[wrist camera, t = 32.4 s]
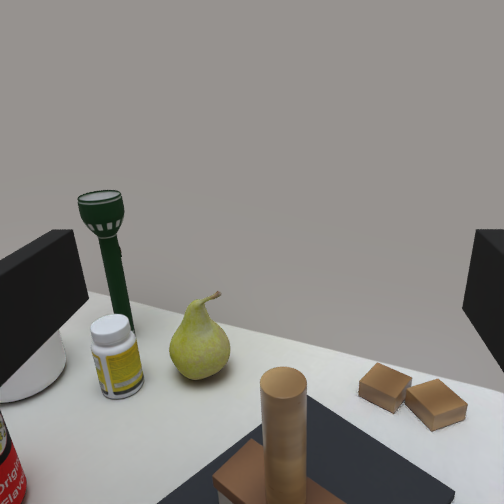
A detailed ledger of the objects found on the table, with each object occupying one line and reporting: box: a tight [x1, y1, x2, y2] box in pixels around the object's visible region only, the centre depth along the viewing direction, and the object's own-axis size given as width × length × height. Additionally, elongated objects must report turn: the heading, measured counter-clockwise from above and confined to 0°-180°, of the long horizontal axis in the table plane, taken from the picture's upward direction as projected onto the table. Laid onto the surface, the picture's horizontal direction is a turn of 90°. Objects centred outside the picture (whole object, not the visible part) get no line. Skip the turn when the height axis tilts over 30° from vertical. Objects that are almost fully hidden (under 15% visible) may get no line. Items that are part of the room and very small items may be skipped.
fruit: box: [169, 291, 230, 380], centre depth 46 cm, size 7×8×12 cm
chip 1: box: [359, 363, 412, 413], centre depth 43 cm, size 4×4×2 cm
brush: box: [212, 367, 346, 504], centre depth 27 cm, size 10×4×14 cm, turn 48°
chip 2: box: [405, 379, 468, 431], centre depth 41 cm, size 4×4×2 cm
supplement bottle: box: [90, 314, 144, 399], centre depth 45 cm, size 5×5×8 cm
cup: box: [0, 329, 66, 403], centre depth 47 cm, size 10×10×10 cm
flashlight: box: [78, 190, 135, 334], centre depth 52 cm, size 5×5×20 cm
